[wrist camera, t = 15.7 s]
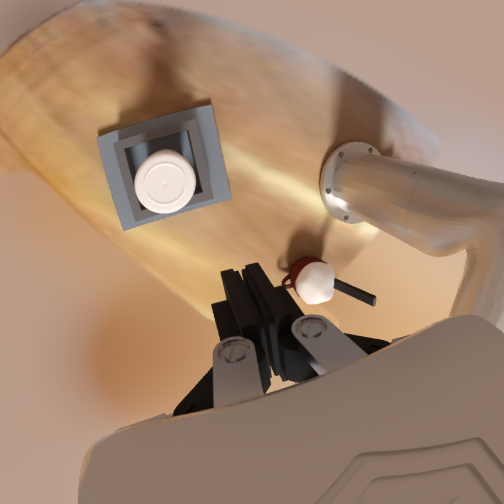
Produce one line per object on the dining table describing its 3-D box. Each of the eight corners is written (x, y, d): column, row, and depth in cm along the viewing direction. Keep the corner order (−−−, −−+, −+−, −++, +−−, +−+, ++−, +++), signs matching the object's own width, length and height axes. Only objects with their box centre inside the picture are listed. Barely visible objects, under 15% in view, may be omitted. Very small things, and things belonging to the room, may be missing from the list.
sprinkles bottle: (142, 180, 30) (126, 207, 18) (153, 143, 29) (143, 145, 17) (179, 189, 32) (186, 221, 20) (190, 153, 31) (204, 161, 19)
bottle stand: (210, 105, 30) (216, 100, 26) (229, 197, 35) (238, 205, 31) (98, 137, 27) (88, 137, 23) (124, 228, 33) (119, 241, 29)
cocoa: (272, 283, 43) (302, 333, 32) (286, 245, 41) (322, 288, 30) (324, 289, 46) (360, 333, 35) (338, 255, 44) (381, 295, 33)
